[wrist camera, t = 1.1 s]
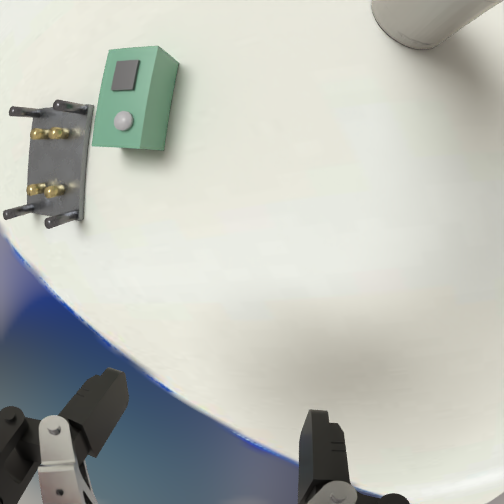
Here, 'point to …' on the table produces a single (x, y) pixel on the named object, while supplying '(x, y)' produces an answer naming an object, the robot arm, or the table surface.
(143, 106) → the module block
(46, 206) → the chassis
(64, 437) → the robot arm
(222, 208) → the table surface
